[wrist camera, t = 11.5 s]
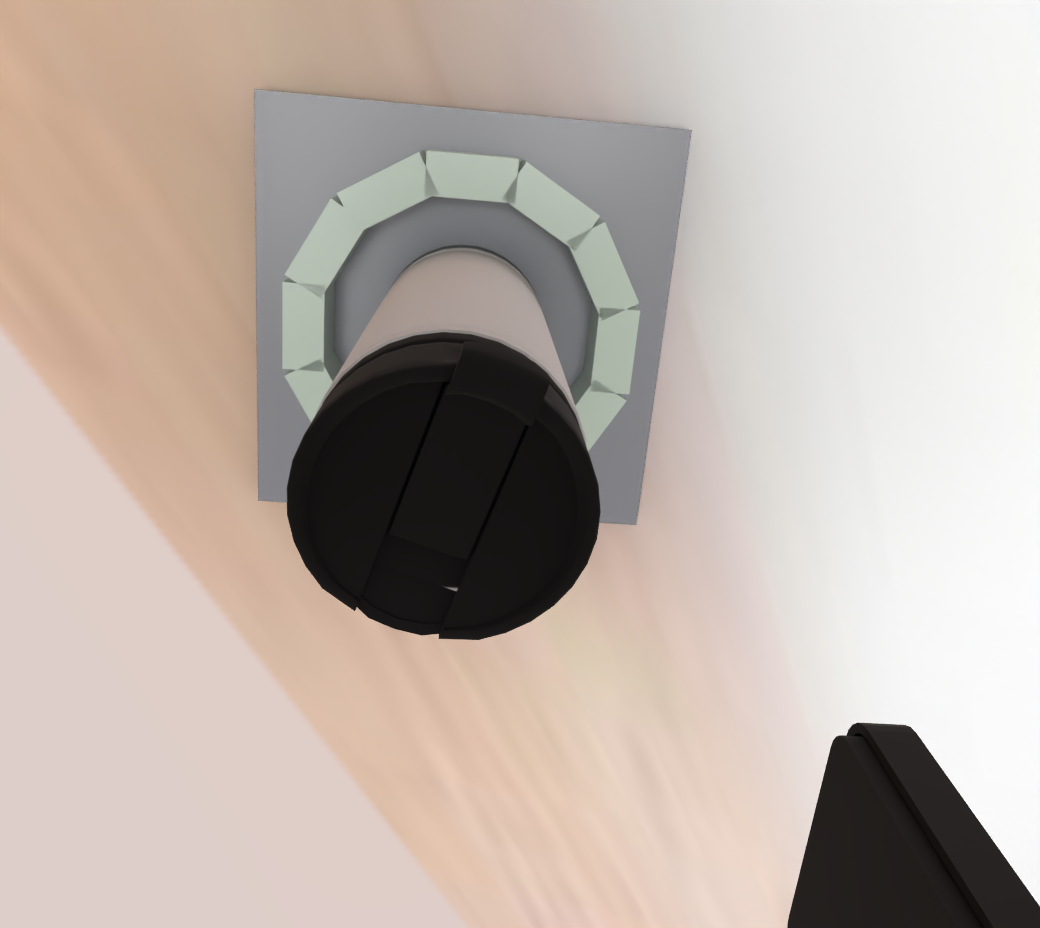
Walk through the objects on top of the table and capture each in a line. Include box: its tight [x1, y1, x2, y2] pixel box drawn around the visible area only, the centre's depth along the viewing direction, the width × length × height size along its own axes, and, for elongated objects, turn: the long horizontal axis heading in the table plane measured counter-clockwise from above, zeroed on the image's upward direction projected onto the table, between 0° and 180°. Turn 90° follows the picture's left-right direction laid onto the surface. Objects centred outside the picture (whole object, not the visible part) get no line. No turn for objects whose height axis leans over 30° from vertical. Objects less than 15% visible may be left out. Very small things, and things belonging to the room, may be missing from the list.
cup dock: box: [254, 89, 692, 525], centre depth 36 cm, size 16×16×4 cm
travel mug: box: [287, 245, 601, 640], centre depth 27 cm, size 6×7×20 cm
